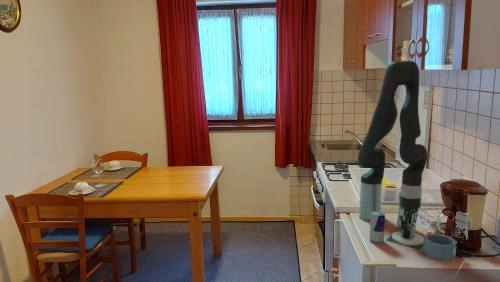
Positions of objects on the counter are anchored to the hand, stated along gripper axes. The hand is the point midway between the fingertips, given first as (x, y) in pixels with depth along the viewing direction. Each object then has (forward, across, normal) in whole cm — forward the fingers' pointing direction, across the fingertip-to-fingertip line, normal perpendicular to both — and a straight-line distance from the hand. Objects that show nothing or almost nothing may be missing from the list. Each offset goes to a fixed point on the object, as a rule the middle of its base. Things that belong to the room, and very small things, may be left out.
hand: (408, 236), depth 152 cm
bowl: (+2, +6, +13) cm, 14 cm away
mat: (+2, 0, 0) cm, 2 cm away
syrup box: (+2, -8, +18) cm, 20 cm away
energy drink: (+2, +10, -9) cm, 13 cm away
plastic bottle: (+2, -11, -5) cm, 12 cm away
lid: (+1, 0, 0) cm, 1 cm away
